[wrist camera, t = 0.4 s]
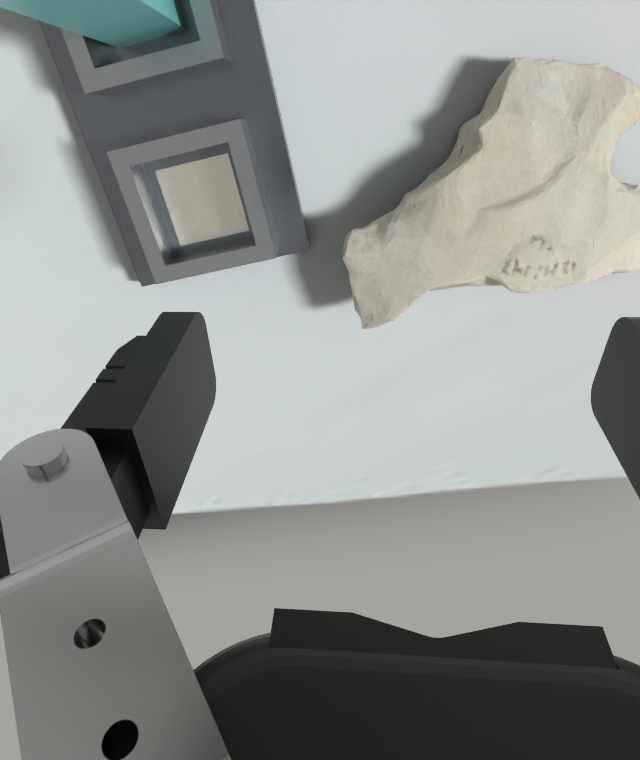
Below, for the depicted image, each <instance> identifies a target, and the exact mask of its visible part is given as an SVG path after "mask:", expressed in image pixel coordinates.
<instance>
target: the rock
mask: <svg viewBox="0 0 640 760" xmlns="http://www.w3.org/2000/svg"><path fill="white" fill-rule="evenodd" d="M639 120H640V88H639V87H638V86H637V85H635V84H634V83H633V82H632V81H631V80H630V79H629V78H627V77H625V76H624V75H622V74H620V73H618V72H616V71H614V70H612V69H610V68H608V67H606V66H604V65H601V64H571V63H567V62H563V61H558V60H555V59H537V60H531V59H527V58H513V60H512V61H511V62H510V64H509V65H508V66H507V67H506V69H505V70H504V71H503V73H502V74H501V75H500V76H499V78H498V79H497V81H496V83H495V84H494V86H493V88H492V90H491V91H490V93H489V95H488V97H487V99H486V102H485V104H484V106H483V108H482V110H481V113H479V114H478V115H477V116H475V117H473V118H472V119H470V120H469V121H467V122H466V123H464V124H463V125H462V126H461V127H460V128H459V132H458V138H457V142H456V144H455V146H454V148H453V150H452V152H451V154H450V156H449V158H448V159H447V160H446V161H445V162H444V163H443V164H442V165H441V166H440V167H439V168H438V169H436V170H435V171H434V172H433V173H431V174H430V175H429V176H428V177H427V178H426V180H425V181H424V182H423V183H421V184H420V185H419V186H418V187H417V188H416V189H414V190H412V191H410V192H408V193H406V194H405V195H404V197H403V199H402V201H401V203H400V205H399V206H398V207H397V208H396V209H394V210H393V211H392V212H389V213H387V214H385V215H383V216H381V217H379V218H378V219H376V220H375V221H373V222H371V223H370V224H368V225H367V226H365V227H362V228H356V229H352V230H351V231H350V232H349V233H348V234H347V235H346V236H345V240H344V244H343V257H342V259H343V261H344V263H345V265H346V267H347V269H348V272H349V279H350V285H351V290H352V294H353V300H354V306H355V310H356V311H357V313H358V314H359V316H360V318H361V322H362V328H363V329H368V328H374V327H377V326H380V325H383V324H385V323H387V322H389V321H391V320H394V319H395V318H397V317H398V316H399V315H401V314H402V313H403V312H405V311H406V310H407V309H408V308H409V307H410V306H411V305H413V304H414V303H415V302H416V301H417V300H418V299H419V298H420V297H422V296H423V295H424V294H425V293H426V292H428V291H432V290H439V289H447V288H454V287H462V286H494V285H503V286H504V287H506V288H507V289H508V290H510V291H513V292H519V293H535V292H545V291H549V290H553V289H557V288H561V287H566V286H570V285H576V284H581V283H585V282H590V281H593V280H595V279H597V278H599V277H602V276H606V275H608V274H610V273H613V274H615V273H625V272H633V271H635V270H638V269H640V185H626V184H623V183H621V182H620V181H619V179H618V178H616V177H615V176H614V175H612V171H611V160H612V156H613V153H614V149H615V146H616V143H617V141H618V139H619V138H620V137H621V136H622V135H623V134H624V133H625V132H627V131H628V130H629V129H630V128H631V127H632V126H633V125H634V124H635V123H636V122H638V121H639ZM478 227H479V228H478Z"/></svg>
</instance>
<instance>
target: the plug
mask: <svg viewBox="0 0 640 760" xmlns="http://www.w3.org/2000/svg"><path fill="white" fill-rule="evenodd" d="M0 8H3V9H6V10H9V11H12V12H15V13H18V14H21V15H24V16H27V17H30V18H33V19H36V20H39V21H42V22H45V23H48V24H51V25H54V26H57V27H60V28H63V29H66V30H69V31H72V32H74V33H77V34H80V35H83V36H86V37H89V38H92V39H95V40H98V41H101V42H104V43H107V44H110V45H113V46H116V47H119V48H123V47H127V46H130V45H134V44H138V43H142V42H145V41H149V40H153V39H156V38H160V37H164V36H167V35H171V34H175V33H178V32H182V31H186V30H187V27H186V24H185V20H184V17H183V13H182V9H181V6H180V2H179V0H0Z"/></svg>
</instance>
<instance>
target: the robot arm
mask: <svg viewBox="0 0 640 760" xmlns="http://www.w3.org/2000/svg"><path fill="white" fill-rule="evenodd" d="M215 394H216V377H215V371H214V366H213V360H212V355H211V350H210V344H209V339H208V334H207V328H206V323H205V320H204V317H203V315H202V314H201V313H200V312H163V313H161V314H160V316H159V317H158V319H157V320H156V322H155V323H154V325H153V326H152V328H151V329H150V331H149V332H148V334H147V335H146V336H136V337H135V338H133V339H132V340H131V341H129V342H128V343H126V344H125V345H123V346H122V347H120V348H119V349H118V350H117V351H116V352H115V354H114V355H113V356H112V358H111V359H110V361H109V362H108V363H107V365H106V369H103V370H102V372H101V373H100V375H99V376H98V377H97V379H96V383H93V384H92V386H91V387H90V388H89V390H88V391H87V393H86V394H85V395H84V397H83V398H82V400H81V401H80V402H79V404H78V405H77V407H76V408H75V409H74V411H73V412H72V413H71V415H70V416H69V418H68V419H67V420H66V422H65V423H64V425H63V426H62V427H61V429H56V430H51V431H46V432H43V433H40V434H37V435H35V436H32V437H30V438H28V439H26V440H24V441H22V442H21V443H19V444H18V445H16V446H15V447H13V448H12V449H11V450H10V451H8V452H7V453H6V454H5V455H4V456H3V458H2V459H1V460H0V614H1V621H2V628H3V635H4V642H5V649H6V656H7V662H8V669H9V676H10V683H11V690H12V697H13V704H14V711H15V717H16V724H17V731H18V738H19V745H20V752H21V758H22V760H640V666H639V665H637V664H635V663H632V662H630V661H627V660H625V659H623V658H619V657H617V656H614V655H613V654H612V651H611V649H610V646H609V644H608V641H607V638H606V636H605V633H604V630H603V627H598V626H581V625H580V626H579V625H563V624H545V623H527V622H516V623H512V624H507V625H502V626H497V627H493V628H488V629H483V630H478V631H474V632H469V633H465V634H460V635H455V636H450V637H445V638H432V637H428V636H425V635H421V634H418V633H415V632H412V631H409V630H406V629H402V628H399V627H396V626H392V625H390V624H387V623H383V622H380V621H377V620H374V619H371V618H367V617H364V616H361V615H358V614H355V613H348V612H329V611H313V610H295V609H277V608H275V609H274V617H273V622H272V629H271V633H267V634H263V635H258V636H255V637H252V638H250V639H247V640H244V641H241V642H239V643H236V644H235V645H232V646H230V647H228V648H226V649H224V650H222V651H220V652H219V653H217V654H216V655H214V656H212V657H211V658H209V659H208V660H206V661H205V662H203V663H202V664H201V665H199V666H198V667H197V668H196V669H194V670H193V669H192V667H191V664H190V662H189V660H188V657H187V655H186V653H185V650H184V648H183V646H182V643H181V641H180V639H179V636H178V634H177V632H176V629H175V627H174V624H173V622H172V620H171V618H170V615H169V613H168V611H167V608H166V606H165V604H164V601H163V599H162V596H161V594H160V592H159V589H158V587H157V585H156V582H155V580H154V578H153V575H152V573H151V571H150V568H149V566H148V564H147V562H146V559H145V557H144V554H143V552H142V550H141V547H140V545H139V543H138V538H139V536H140V533H141V531H142V529H166V527H167V524H168V522H169V519H170V516H171V514H172V511H173V509H174V506H175V503H176V501H177V498H178V496H179V493H180V490H181V488H182V485H183V483H184V480H185V477H186V475H187V472H188V470H189V467H190V464H191V462H192V459H193V457H194V454H195V451H196V449H197V446H198V444H199V441H200V438H201V436H202V433H203V431H204V428H205V425H206V423H207V420H208V417H209V415H210V412H211V410H212V407H213V404H214V400H215ZM591 405H592V410H593V413H594V415H595V417H596V419H597V421H598V423H599V425H600V427H601V428H602V430H603V432H604V434H605V436H606V438H607V440H608V441H609V443H610V445H611V447H612V449H613V451H614V452H615V454H616V456H617V458H618V460H619V462H620V464H621V465H622V467H623V469H624V471H625V473H626V475H627V476H628V478H629V480H630V482H631V484H632V486H633V488H634V489H635V491H636V493H637V495H638V497H639V499H640V317H622V318H620V319H618V320H617V321H616V323H615V324H614V326H613V328H612V330H611V333H610V336H609V339H608V341H607V344H606V347H605V350H604V353H603V356H602V358H601V361H600V364H599V367H598V370H597V373H596V376H595V378H594V381H593V385H592V389H591Z"/></svg>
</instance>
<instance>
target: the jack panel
mask: <svg viewBox="0 0 640 760" xmlns="http://www.w3.org/2000/svg"><path fill="white" fill-rule="evenodd" d="M179 2H180V6H181V9H182V13H183V17H184V20H185V24H186V27H187V30H186V31H182V32H178V33H175V34H171V35H167V36H164V37H160V38H156V39H153V40H149V41H145V42H142V43H138V44H134V45H130V46H127V47H123V48H119V47H116V46H113V45H110V44H107V43H104V42H101V41H98V40H95V39H92V38H89V37H86V36H83V35H80V34H77V33H74V32H72V31H69V30H66V29H63V28H60V27H57V26H54V25H51V24H48V23H45V22H42V21H39V22H40V25H41V27H42V30H43V32H44V35H45V38H46V40H47V43H48V45H49V48H50V50H51V53H52V56H53V58H54V61H55V63H56V66H57V69H58V71H59V74H60V76H61V79H62V81H63V84H64V87H65V89H66V92H67V94H68V97H69V100H70V102H71V105H72V107H73V110H74V113H75V115H76V118H77V120H78V123H79V125H80V128H81V131H82V133H83V136H84V138H85V141H86V144H87V146H88V149H89V151H90V154H91V156H92V159H93V162H94V164H95V167H96V169H97V172H98V175H99V177H100V180H101V182H102V185H103V187H104V190H105V193H106V195H107V198H108V200H109V203H110V206H111V208H112V211H113V213H114V216H115V218H116V221H117V224H118V226H119V229H120V231H121V234H122V237H123V239H124V242H125V244H126V247H127V250H128V252H129V255H130V257H131V260H132V262H133V265H134V268H135V270H136V273H137V275H138V278H139V281H140V283H141V286H147V285H151V284H159V283H164V282H168V281H173V280H178V279H182V278H187V277H191V276H196V275H200V274H205V273H209V272H214V271H219V270H223V269H228V268H232V267H237V266H241V265H246V264H250V263H255V262H260V261H264V260H269V259H273V258H276V257H279V256H283V255H288V254H293V253H297V252H302V251H306V250H310V243H309V239H308V235H307V230H306V226H305V221H304V217H303V212H302V208H301V204H300V199H299V195H298V190H297V186H296V181H295V177H294V173H293V168H292V164H291V159H290V155H289V150H288V146H287V142H286V137H285V133H284V128H283V124H282V119H281V115H280V111H279V106H278V102H277V97H276V93H275V88H274V84H273V80H272V75H271V71H270V66H269V62H268V57H267V53H266V49H265V44H264V40H263V35H262V31H261V26H260V22H259V18H258V13H257V9H256V4H255V0H179Z"/></svg>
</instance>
